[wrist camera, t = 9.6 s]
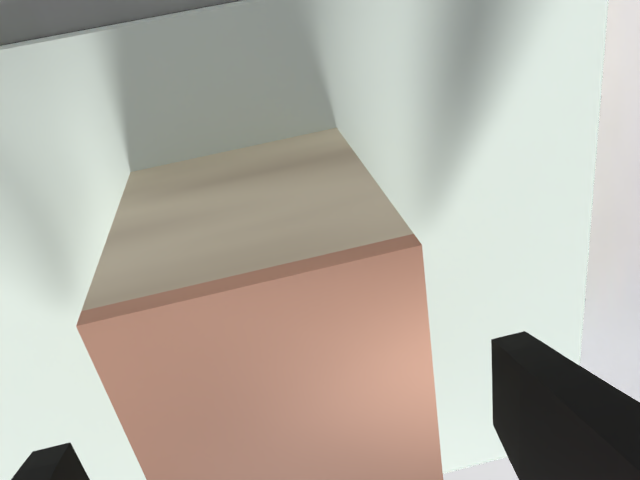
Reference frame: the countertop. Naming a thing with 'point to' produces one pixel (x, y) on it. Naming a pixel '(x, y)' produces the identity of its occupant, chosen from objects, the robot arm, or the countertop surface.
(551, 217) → the mat
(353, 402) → the maple block
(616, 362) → the countertop surface
